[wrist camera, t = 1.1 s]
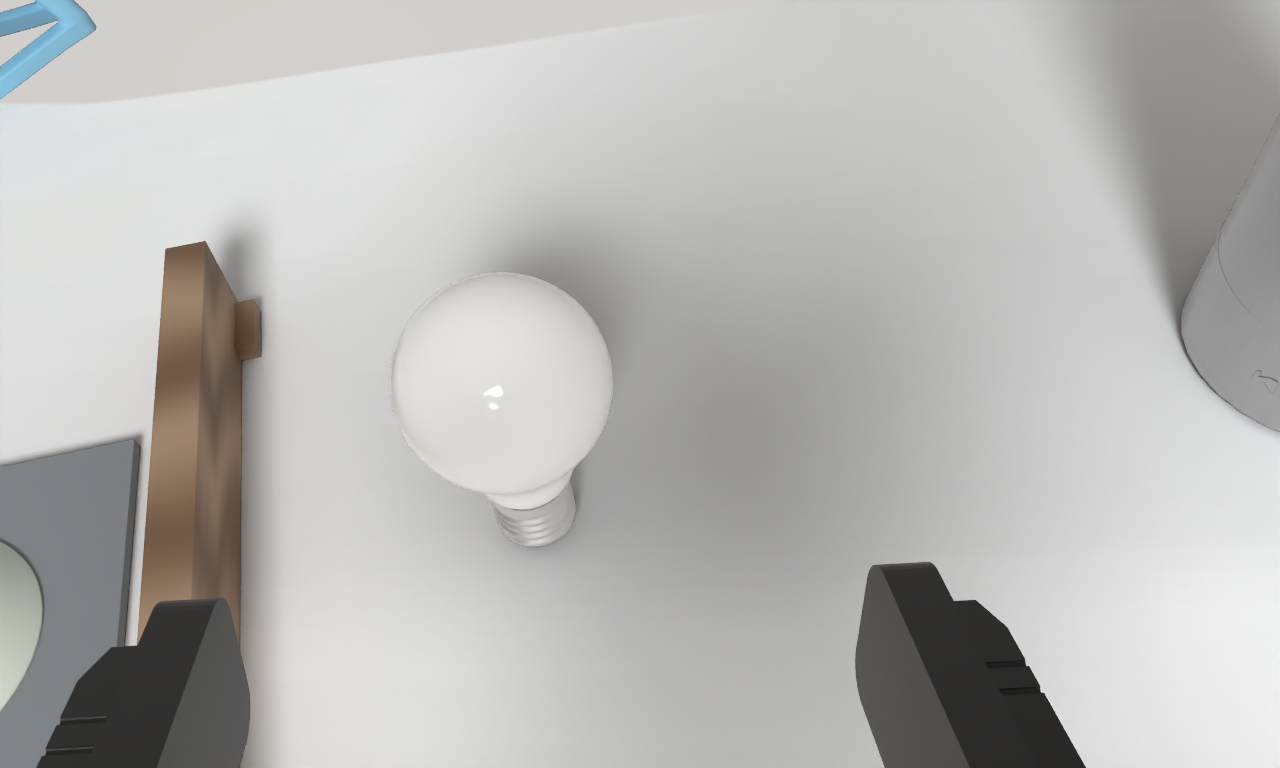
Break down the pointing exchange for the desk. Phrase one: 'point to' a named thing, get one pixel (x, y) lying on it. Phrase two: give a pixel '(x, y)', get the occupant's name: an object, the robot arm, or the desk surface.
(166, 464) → the walnut fence
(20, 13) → the chair
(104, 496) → the mat
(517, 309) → the lightbulb
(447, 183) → the desk surface
